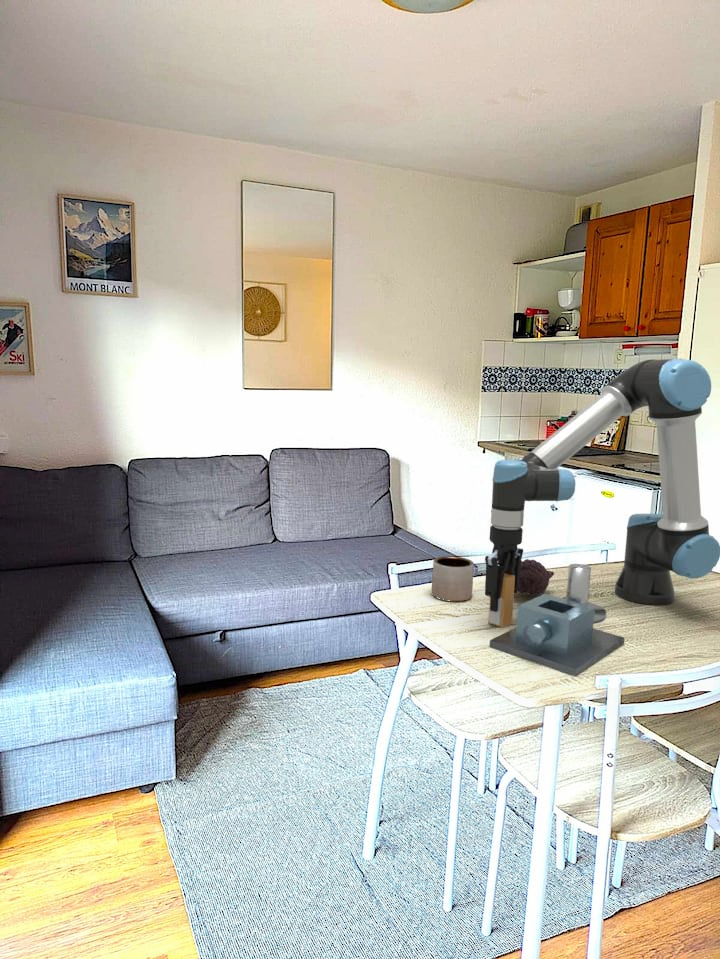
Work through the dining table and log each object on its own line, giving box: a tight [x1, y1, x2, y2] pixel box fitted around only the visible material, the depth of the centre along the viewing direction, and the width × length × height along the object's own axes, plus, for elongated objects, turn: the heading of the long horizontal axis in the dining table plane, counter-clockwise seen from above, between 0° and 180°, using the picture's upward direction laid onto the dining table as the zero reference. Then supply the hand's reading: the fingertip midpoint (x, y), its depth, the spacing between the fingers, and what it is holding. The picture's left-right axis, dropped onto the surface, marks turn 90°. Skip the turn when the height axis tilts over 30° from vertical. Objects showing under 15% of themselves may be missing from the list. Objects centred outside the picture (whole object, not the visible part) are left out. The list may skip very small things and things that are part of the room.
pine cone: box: [515, 558, 555, 597], centre depth 184 cm, size 18×10×10 cm, turn 137°
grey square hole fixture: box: [489, 563, 625, 677], centre depth 151 cm, size 26×20×16 cm
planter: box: [431, 555, 475, 602], centre depth 182 cm, size 11×11×10 cm
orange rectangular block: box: [488, 573, 515, 628], centre depth 162 cm, size 4×4×12 cm
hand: (500, 620), depth 163 cm, fingers closed on orange rectangular block, 4 cm apart
